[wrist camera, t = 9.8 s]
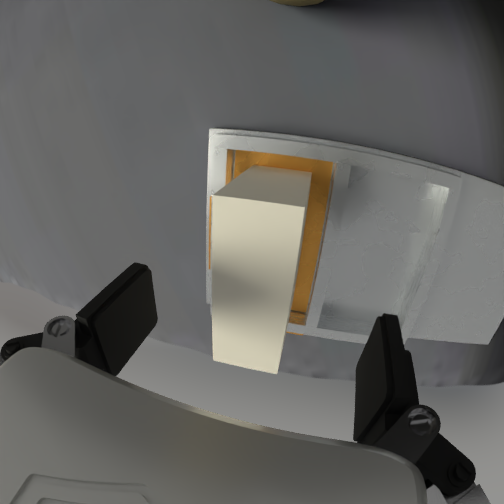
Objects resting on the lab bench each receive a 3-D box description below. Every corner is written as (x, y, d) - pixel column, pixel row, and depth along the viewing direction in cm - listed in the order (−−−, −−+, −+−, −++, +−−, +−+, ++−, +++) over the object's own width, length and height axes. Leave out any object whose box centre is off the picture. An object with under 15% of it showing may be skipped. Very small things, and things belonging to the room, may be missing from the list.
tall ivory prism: (311, 172, 17) (305, 207, 11) (293, 299, 21) (277, 374, 15) (253, 164, 17) (212, 195, 11) (244, 291, 21) (213, 360, 15)
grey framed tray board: (541, 202, 14) (558, 213, 11) (485, 338, 19) (493, 356, 17) (213, 127, 18) (199, 130, 16) (210, 297, 24) (199, 315, 22)
